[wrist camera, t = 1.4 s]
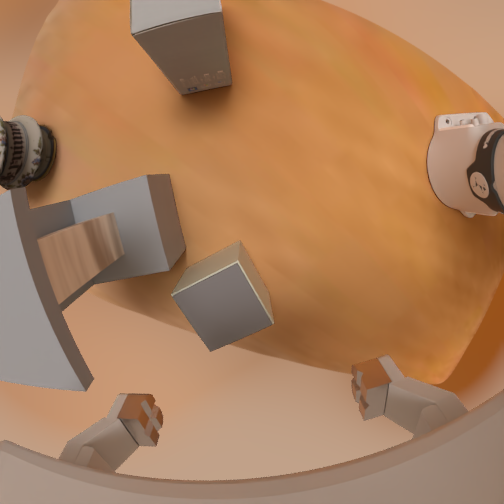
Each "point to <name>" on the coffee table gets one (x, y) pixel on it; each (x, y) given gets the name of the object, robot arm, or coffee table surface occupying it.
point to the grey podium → (45, 303)
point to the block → (80, 253)
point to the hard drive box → (184, 41)
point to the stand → (224, 297)
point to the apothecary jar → (24, 151)
